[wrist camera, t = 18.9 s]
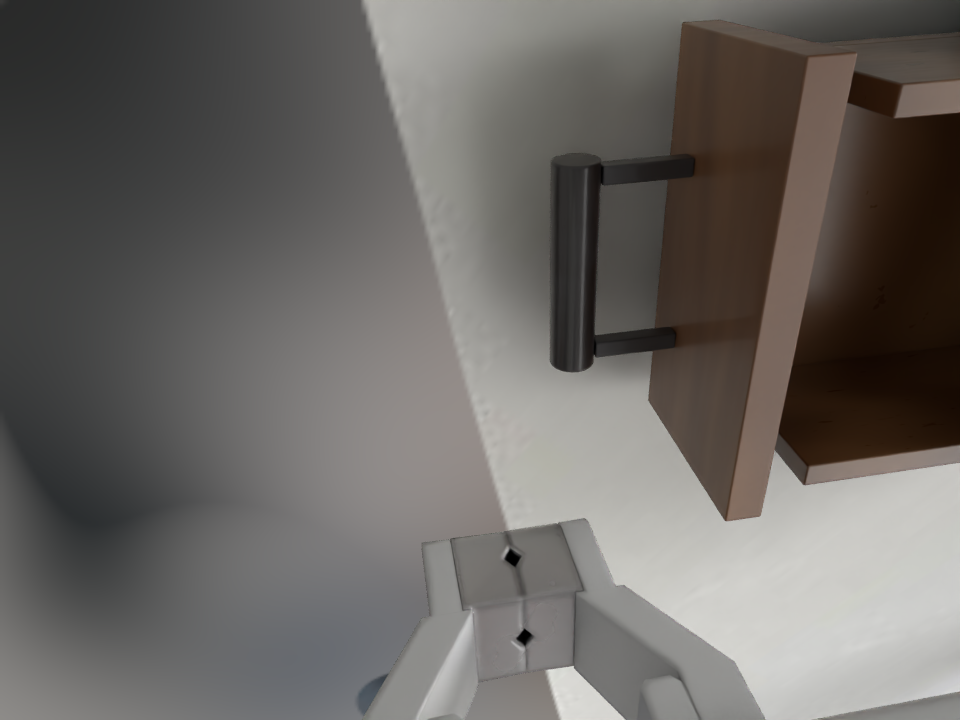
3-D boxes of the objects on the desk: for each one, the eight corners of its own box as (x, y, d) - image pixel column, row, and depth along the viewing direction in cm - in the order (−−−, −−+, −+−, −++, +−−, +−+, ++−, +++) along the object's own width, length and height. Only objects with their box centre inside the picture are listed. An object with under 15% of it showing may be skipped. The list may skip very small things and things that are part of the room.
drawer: (539, 414, 28) (589, 542, 22) (537, 32, 21) (611, 70, 15) (985, 356, 30) (1139, 460, 24) (1120, -10, 23) (1386, 9, 17)
